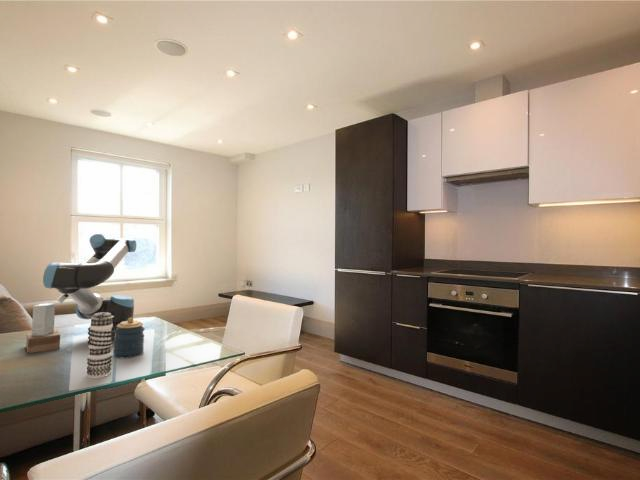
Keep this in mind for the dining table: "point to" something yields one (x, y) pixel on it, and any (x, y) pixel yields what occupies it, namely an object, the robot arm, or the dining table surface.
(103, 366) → the decorative candle
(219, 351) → the dining table surface
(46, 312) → the skincare box
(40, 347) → the walnut block
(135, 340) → the canister
